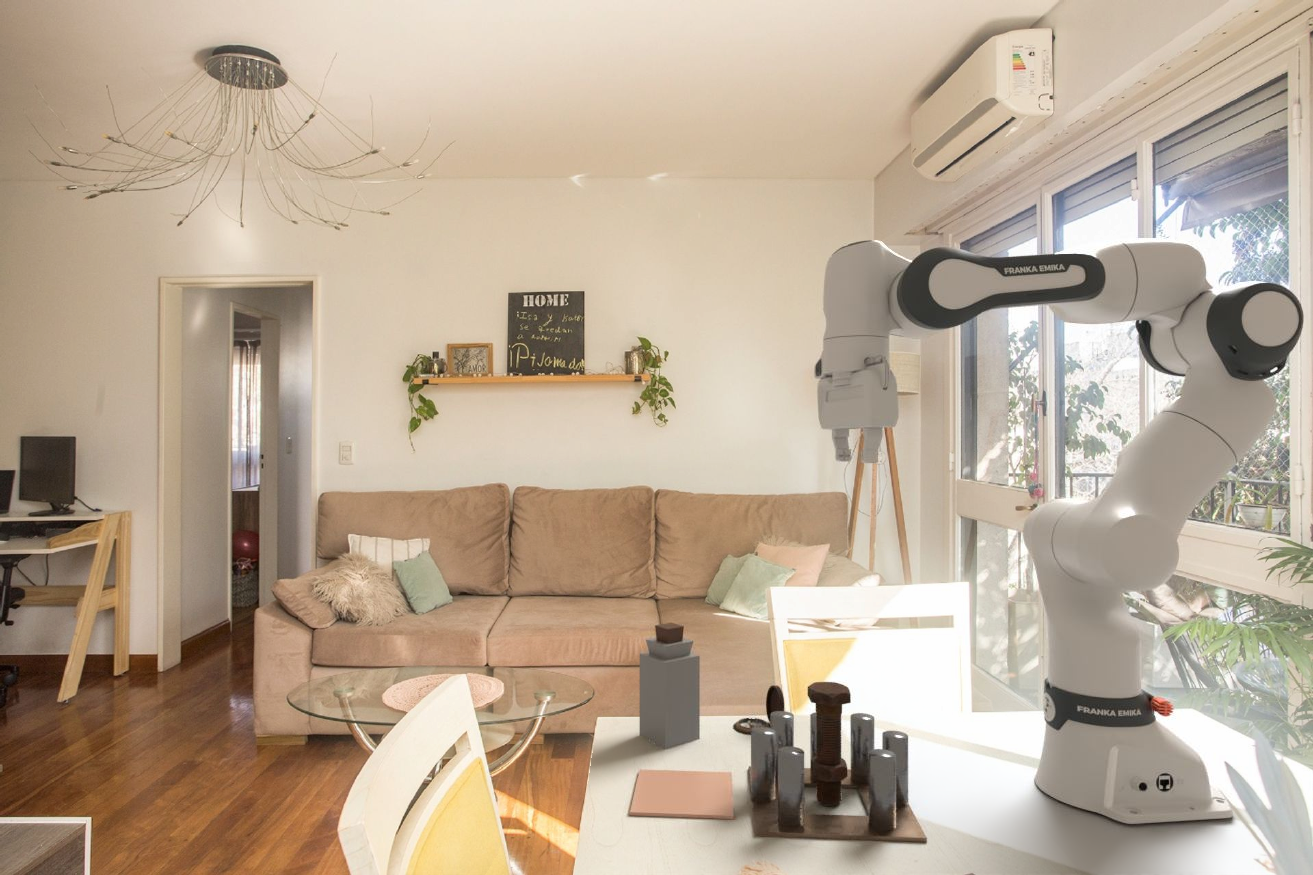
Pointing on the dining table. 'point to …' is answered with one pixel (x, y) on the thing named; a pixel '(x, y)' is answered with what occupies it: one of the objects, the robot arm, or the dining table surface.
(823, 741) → the bolt
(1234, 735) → the dining table surface
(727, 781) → the pad
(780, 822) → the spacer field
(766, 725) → the compass
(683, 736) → the perfume bottle
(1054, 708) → the robot arm
